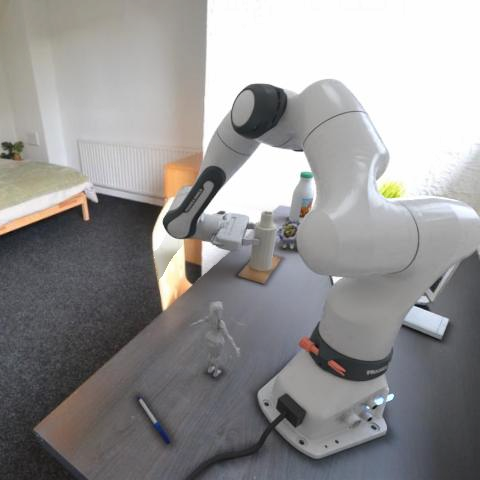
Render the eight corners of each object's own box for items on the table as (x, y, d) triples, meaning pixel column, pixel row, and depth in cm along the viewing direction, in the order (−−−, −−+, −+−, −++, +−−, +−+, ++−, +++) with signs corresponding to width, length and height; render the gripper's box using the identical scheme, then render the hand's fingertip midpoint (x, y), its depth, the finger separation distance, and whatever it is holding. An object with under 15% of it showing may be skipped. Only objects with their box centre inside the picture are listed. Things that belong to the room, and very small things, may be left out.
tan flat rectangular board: (263, 284, 97) (263, 283, 97) (237, 276, 101) (237, 275, 101) (281, 258, 110) (281, 257, 110) (258, 252, 114) (258, 251, 114)
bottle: (259, 273, 101) (267, 219, 93) (245, 264, 106) (251, 211, 98) (275, 268, 104) (284, 214, 96) (261, 259, 109) (268, 207, 101)
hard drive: (380, 310, 83) (443, 335, 75) (390, 296, 88) (449, 317, 80) (379, 315, 84) (440, 340, 76) (388, 301, 89) (447, 323, 81)
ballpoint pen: (171, 442, 56) (171, 438, 56) (167, 445, 56) (167, 441, 55) (139, 397, 64) (139, 394, 64) (135, 399, 64) (135, 396, 63)
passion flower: (282, 261, 119) (266, 232, 118) (300, 247, 124) (284, 219, 123) (308, 256, 109) (291, 224, 108) (326, 241, 114) (309, 210, 113)
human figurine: (242, 385, 66) (251, 313, 58) (231, 397, 63) (239, 324, 55) (195, 353, 73) (198, 286, 65) (184, 363, 71) (185, 294, 63)
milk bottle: (290, 223, 134) (298, 175, 125) (287, 216, 141) (294, 169, 132) (310, 224, 133) (320, 175, 124) (306, 217, 140) (315, 170, 131)
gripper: (208, 233, 95) (258, 240, 91) (222, 208, 112) (264, 213, 108) (207, 252, 98) (255, 260, 94) (221, 225, 115) (262, 230, 111)
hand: (260, 235), depth 101 cm, fingers open, 8 cm apart
